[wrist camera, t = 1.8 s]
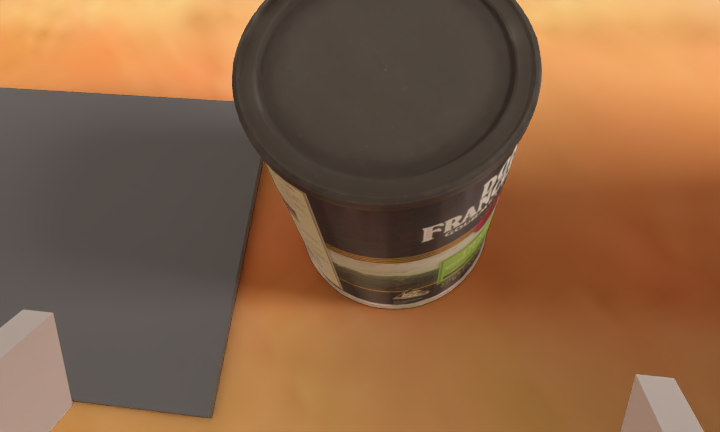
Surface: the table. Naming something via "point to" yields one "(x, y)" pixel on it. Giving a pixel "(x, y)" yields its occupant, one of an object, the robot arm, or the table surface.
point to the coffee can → (388, 131)
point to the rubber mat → (127, 237)
